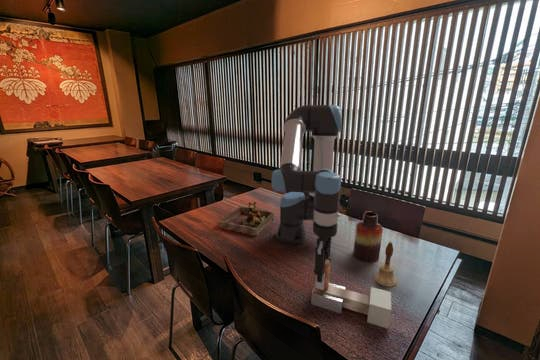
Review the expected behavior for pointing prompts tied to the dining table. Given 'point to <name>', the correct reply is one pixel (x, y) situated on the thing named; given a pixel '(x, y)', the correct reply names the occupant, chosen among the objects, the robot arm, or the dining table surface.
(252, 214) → the bear figurine
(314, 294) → the sleeve
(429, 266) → the dining table surface
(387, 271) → the hand bell
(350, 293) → the sliding bolt with handle
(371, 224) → the vase
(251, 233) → the shallow square tray
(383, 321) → the white upright block
